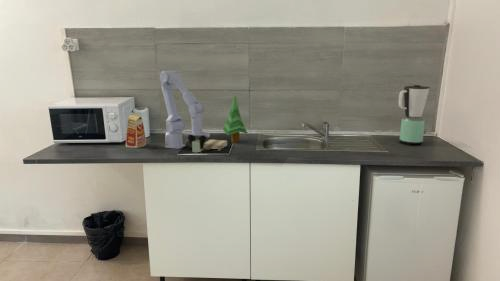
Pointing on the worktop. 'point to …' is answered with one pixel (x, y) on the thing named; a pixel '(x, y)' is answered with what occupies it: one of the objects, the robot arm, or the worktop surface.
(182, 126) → the robot arm
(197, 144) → the green block
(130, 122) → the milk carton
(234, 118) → the decorative tree
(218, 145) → the beige irregular slab
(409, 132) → the mint green blender
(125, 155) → the worktop surface
